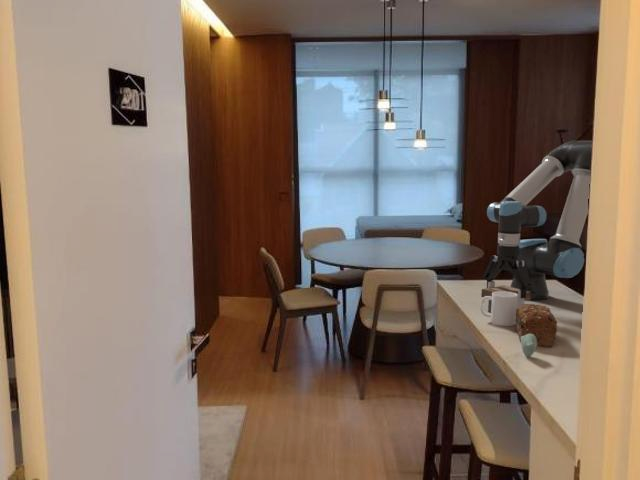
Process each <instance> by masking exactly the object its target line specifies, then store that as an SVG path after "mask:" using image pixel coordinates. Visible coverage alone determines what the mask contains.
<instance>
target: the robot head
mask: <svg viewBox="0 0 640 480" xmlns="http://www.w3.org/2000/svg"><path fill="white" fill-rule="evenodd" d="M520 345H521V350H522V353H523V354H524V356H525V357H527V358H530V357H531V356H533V355H534V353H535V351H536V349H537V347H538V346H537V339H536V337H535V335H533V334H527V335H525V336H521V342H520Z"/></svg>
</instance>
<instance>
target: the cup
mask: <svg viewBox="0 0 640 480" xmlns="http://www.w3.org/2000/svg"><path fill="white" fill-rule="evenodd" d="M486 300H488V301H489V300H492V305H491V313H489V312H486V311H485V310H484V303H485V301H486ZM517 301H518V295H517V294H516V293H513V292H506V291H496V292H493V293H492V297H491V296H485V297H481V300H480V305H479V309H480V313H481V315H483V316H484V317H487V318H490V322H491V324H492V325H494V326H497V327H498V326H499V327H513V326H516V320H515V319H516V309H517Z"/></svg>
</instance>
